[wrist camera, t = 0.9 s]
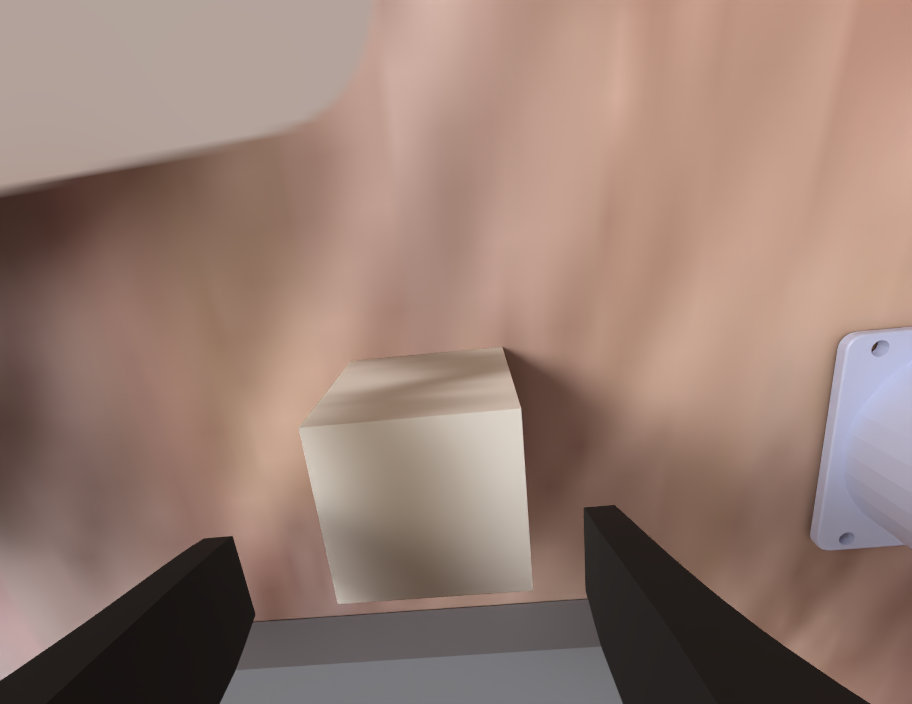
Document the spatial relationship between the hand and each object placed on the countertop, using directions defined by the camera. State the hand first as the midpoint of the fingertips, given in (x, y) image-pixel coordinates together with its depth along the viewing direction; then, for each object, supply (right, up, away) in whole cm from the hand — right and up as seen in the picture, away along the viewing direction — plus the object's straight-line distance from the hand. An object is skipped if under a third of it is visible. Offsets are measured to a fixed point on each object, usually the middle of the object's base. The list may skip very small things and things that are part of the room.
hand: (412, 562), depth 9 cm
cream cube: (0, +2, +6) cm, 7 cm away
